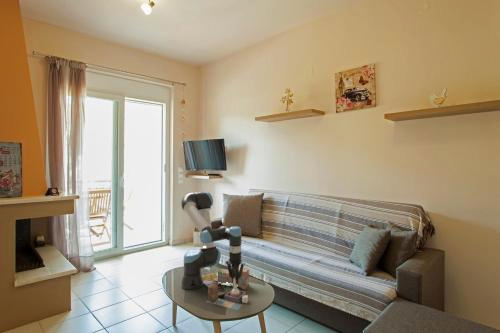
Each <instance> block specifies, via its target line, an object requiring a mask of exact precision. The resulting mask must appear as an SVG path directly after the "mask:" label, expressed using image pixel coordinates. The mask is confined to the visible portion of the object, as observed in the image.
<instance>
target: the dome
mask: <svg viewBox="0 0 500 333" xmlns="http://www.w3.org/2000/svg"><path fill="white" fill-rule="evenodd" d="M232 289H233V288H232ZM232 289H231V290H232ZM239 290H240V289H239V288H236V289H233V290H232V291H230V290H229V291H230V296H234V297H239V296H240V295H241V292H240V291H241V290H240V291H239Z"/></svg>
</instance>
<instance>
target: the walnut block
mask: <svg viewBox="0 0 500 333" xmlns="http://www.w3.org/2000/svg"><path fill="white" fill-rule="evenodd" d="M218 298H219V285H218V284H214V283H211V284H210V285H208V286H207V301H209V302H213V303H214V302H216V301H217V300H218Z"/></svg>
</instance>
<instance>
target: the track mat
mask: <svg viewBox="0 0 500 333" xmlns="http://www.w3.org/2000/svg"><path fill="white" fill-rule="evenodd" d="M206 303H209V304H212V305H216V306H220V307H224V308H227V309H230V310H235V311H239V309H241V307H242V306H243V304H241V303H236V302H232V301H228V300H225V299H221V298H219V297H218V300H217V301H216V302H214V303H213V302H209V301H208V300H206Z"/></svg>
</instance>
